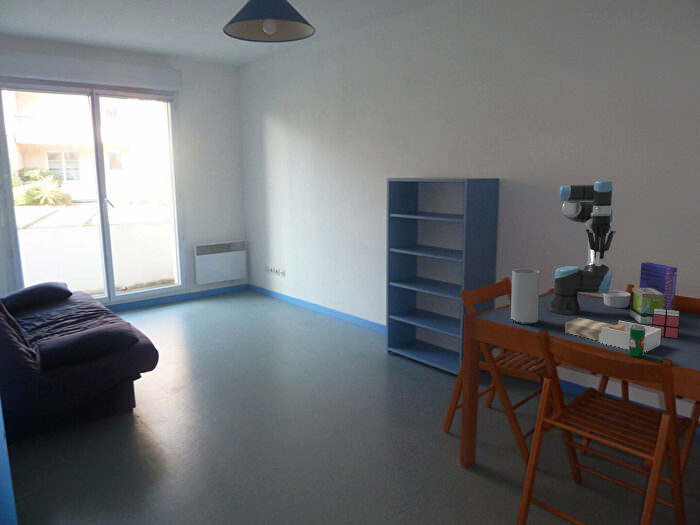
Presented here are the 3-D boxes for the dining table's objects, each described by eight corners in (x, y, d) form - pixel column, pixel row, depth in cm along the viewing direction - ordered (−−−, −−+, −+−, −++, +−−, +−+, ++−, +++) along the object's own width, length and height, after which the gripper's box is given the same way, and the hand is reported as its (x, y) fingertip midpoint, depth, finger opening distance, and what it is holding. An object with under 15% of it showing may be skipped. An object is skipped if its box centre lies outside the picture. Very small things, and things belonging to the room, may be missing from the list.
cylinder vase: (509, 317, 254) (511, 268, 250) (535, 318, 252) (537, 269, 247) (512, 324, 242) (513, 273, 238) (539, 325, 240) (541, 273, 235)
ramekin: (618, 309, 263) (618, 297, 262) (596, 304, 275) (597, 292, 274) (635, 306, 269) (636, 294, 267) (614, 301, 280) (614, 289, 279)
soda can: (626, 353, 200) (628, 324, 198) (639, 353, 200) (641, 324, 198) (632, 357, 195) (634, 327, 193) (645, 357, 195) (648, 328, 193)
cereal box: (673, 314, 252) (677, 267, 248) (665, 315, 251) (669, 268, 247) (645, 306, 269) (648, 262, 265) (638, 307, 268) (641, 262, 264)
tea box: (663, 324, 236) (665, 294, 234) (639, 324, 238) (641, 293, 236) (650, 316, 251) (653, 287, 248) (628, 315, 253) (630, 286, 250)
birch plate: (564, 333, 227) (565, 322, 226) (578, 327, 234) (579, 317, 233) (600, 341, 214) (600, 330, 214) (613, 335, 222) (614, 325, 221)
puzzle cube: (678, 339, 216) (680, 316, 214) (650, 335, 221) (652, 313, 219) (677, 332, 224) (679, 311, 222) (651, 329, 229) (653, 308, 228)
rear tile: (611, 326, 213) (618, 328, 211) (617, 324, 217) (625, 325, 214) (610, 340, 214) (617, 342, 212) (617, 337, 218) (624, 339, 215)
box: (598, 342, 213) (599, 326, 212) (616, 335, 222) (617, 320, 221) (643, 353, 199) (644, 336, 198) (659, 345, 209) (661, 328, 207)
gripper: (583, 214, 233) (580, 264, 237) (612, 216, 223) (608, 268, 227) (591, 213, 238) (589, 263, 242) (620, 215, 228) (616, 266, 231)
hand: (598, 265), depth 234 cm, fingers closed
